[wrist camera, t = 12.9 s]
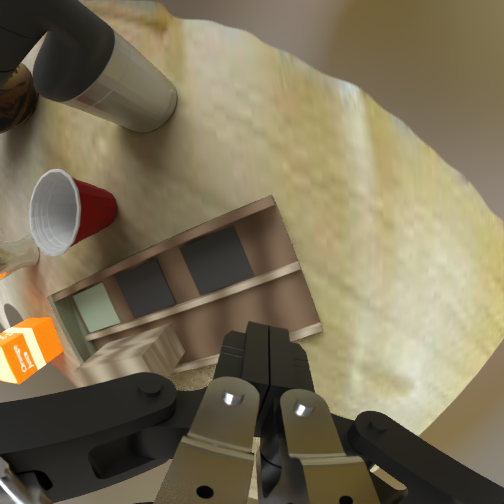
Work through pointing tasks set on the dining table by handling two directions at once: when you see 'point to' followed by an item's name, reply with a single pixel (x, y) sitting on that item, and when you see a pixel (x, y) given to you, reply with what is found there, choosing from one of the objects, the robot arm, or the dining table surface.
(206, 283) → the pads
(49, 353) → the orange juice
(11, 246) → the beer glass
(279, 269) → the board
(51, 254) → the plastic cup
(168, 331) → the beech block
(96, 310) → the pad
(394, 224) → the dining table surface
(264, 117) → the dining table surface
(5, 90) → the ceramic jug
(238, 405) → the robot arm
